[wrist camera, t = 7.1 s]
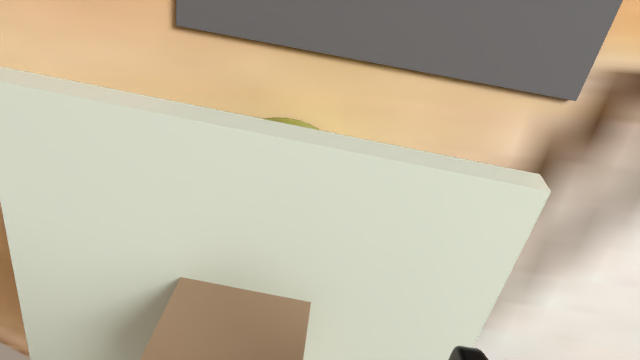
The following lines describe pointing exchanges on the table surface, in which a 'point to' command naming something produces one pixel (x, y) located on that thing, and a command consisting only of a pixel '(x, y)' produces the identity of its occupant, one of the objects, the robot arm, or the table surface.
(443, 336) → the sage lid
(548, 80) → the gray flat panel
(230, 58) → the table surface
